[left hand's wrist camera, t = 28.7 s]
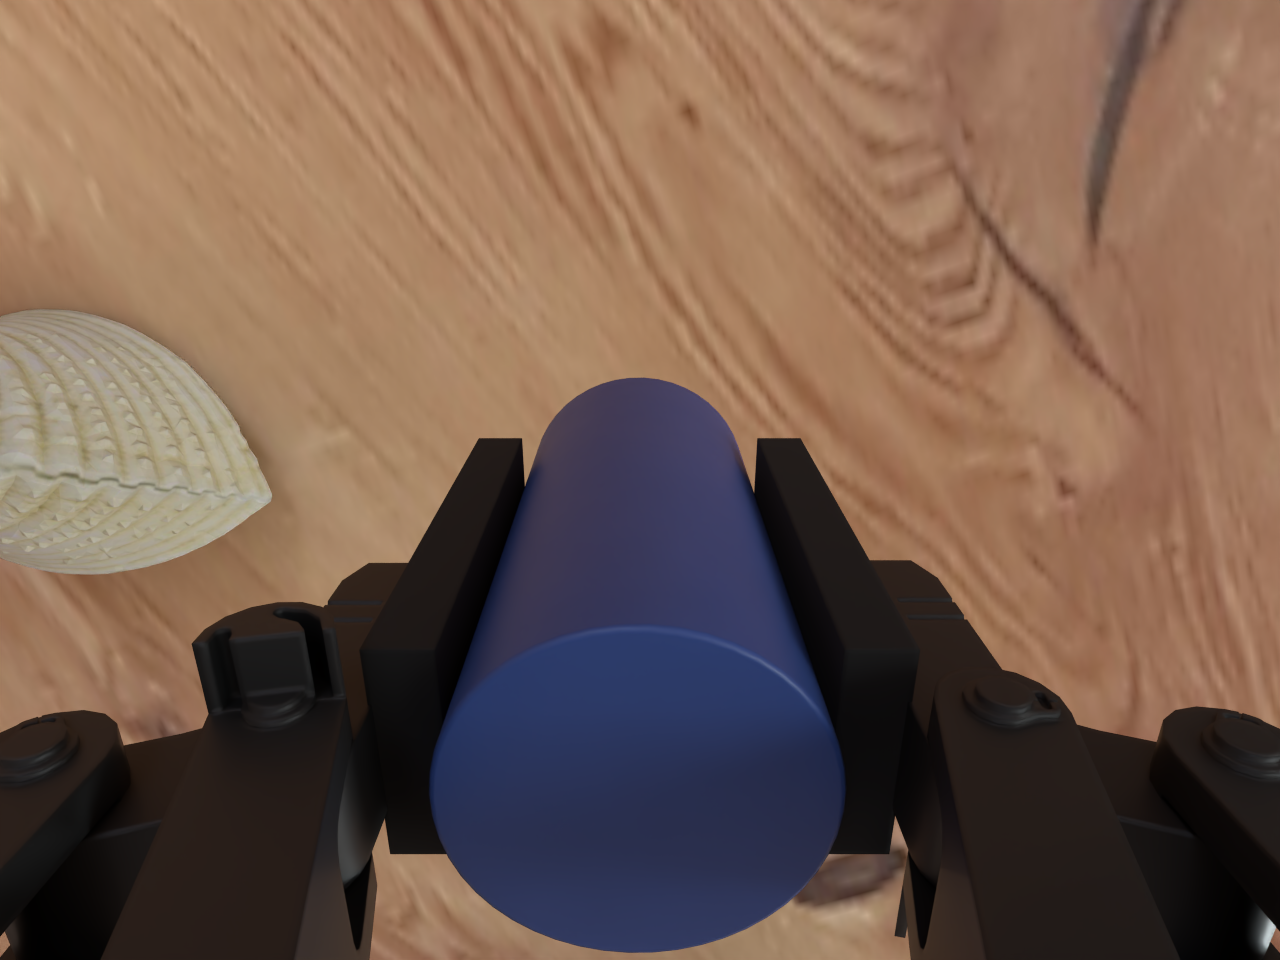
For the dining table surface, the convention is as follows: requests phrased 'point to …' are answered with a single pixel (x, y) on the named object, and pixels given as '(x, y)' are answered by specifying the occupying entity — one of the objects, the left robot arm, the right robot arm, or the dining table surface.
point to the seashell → (112, 449)
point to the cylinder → (637, 694)
